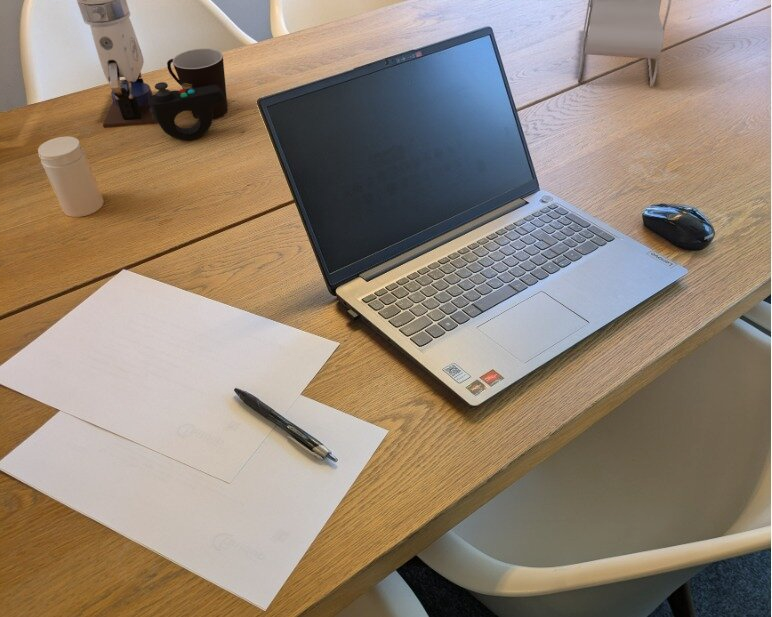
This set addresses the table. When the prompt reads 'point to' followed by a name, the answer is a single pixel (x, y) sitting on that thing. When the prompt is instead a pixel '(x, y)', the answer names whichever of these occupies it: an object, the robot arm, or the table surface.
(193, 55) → the coffee mug
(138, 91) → the jar lid
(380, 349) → the table surface
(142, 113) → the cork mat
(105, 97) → the table surface
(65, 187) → the jar
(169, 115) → the controller
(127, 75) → the robot arm
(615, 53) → the chair
